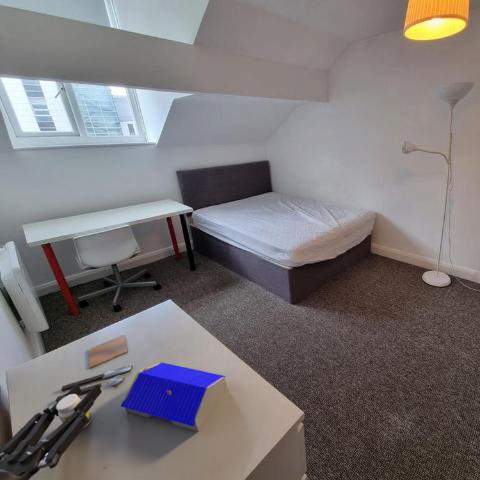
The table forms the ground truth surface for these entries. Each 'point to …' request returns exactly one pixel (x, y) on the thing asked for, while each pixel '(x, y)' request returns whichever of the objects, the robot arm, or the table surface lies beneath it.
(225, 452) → the table surface
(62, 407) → the supplement bottle
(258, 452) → the table surface
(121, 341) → the cork coaster
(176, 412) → the roof
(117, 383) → the cutlery
